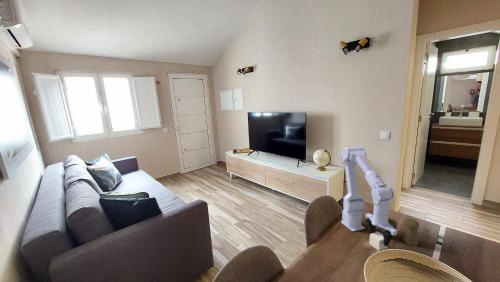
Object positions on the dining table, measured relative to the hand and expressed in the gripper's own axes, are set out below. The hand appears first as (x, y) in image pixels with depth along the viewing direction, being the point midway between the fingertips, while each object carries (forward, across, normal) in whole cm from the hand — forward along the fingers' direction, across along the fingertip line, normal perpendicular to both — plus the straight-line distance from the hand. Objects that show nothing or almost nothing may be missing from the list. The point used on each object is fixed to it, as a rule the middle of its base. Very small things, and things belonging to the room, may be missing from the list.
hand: (379, 239), depth 96 cm
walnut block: (+6, 0, 0) cm, 6 cm away
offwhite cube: (+3, 0, 0) cm, 3 cm away
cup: (+6, -7, +13) cm, 16 cm away
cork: (+6, 0, +19) cm, 20 cm away
